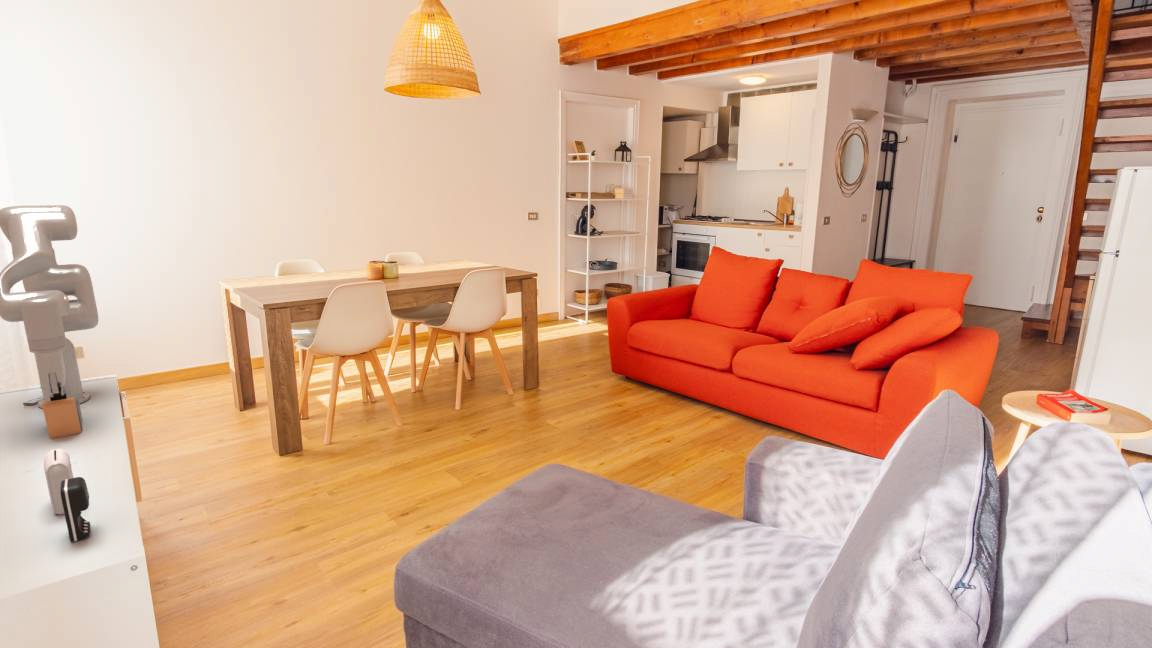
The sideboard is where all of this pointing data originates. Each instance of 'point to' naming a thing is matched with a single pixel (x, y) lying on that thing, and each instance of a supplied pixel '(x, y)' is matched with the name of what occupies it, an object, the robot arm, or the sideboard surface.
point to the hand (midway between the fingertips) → (60, 409)
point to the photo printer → (57, 475)
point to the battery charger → (75, 507)
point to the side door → (61, 417)
